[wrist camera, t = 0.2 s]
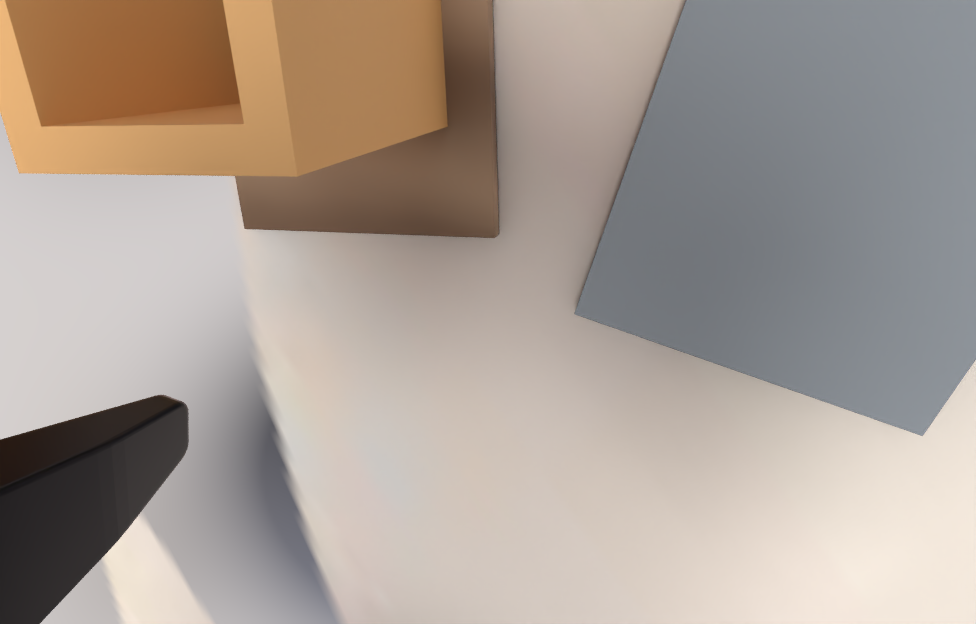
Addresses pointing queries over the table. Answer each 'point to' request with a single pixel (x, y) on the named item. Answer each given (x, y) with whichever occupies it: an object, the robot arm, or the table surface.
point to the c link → (216, 83)
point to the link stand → (407, 160)
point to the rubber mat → (807, 201)
